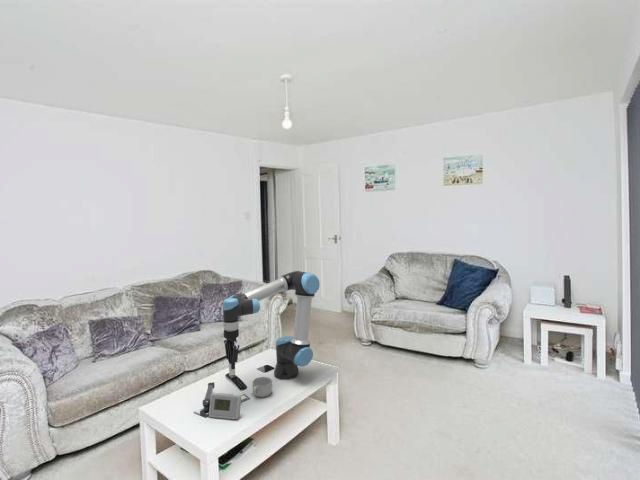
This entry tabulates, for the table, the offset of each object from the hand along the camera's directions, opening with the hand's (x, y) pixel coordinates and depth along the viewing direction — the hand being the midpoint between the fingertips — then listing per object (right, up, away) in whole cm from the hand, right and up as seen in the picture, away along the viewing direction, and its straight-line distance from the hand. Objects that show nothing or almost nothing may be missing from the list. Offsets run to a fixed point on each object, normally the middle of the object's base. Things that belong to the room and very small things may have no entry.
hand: (232, 374), depth 187 cm
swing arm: (-13, -13, +5) cm, 19 cm away
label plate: (+3, -17, +9) cm, 19 cm away
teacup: (+13, -17, +12) cm, 24 cm away
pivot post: (-12, -18, -4) cm, 22 cm away
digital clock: (-2, -18, -7) cm, 20 cm away
